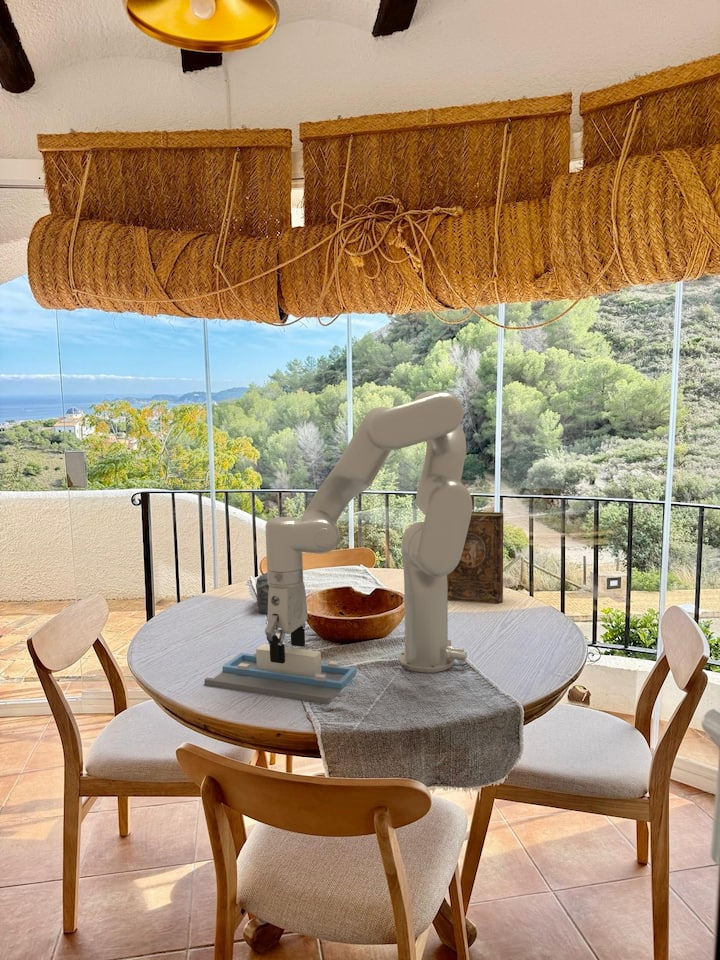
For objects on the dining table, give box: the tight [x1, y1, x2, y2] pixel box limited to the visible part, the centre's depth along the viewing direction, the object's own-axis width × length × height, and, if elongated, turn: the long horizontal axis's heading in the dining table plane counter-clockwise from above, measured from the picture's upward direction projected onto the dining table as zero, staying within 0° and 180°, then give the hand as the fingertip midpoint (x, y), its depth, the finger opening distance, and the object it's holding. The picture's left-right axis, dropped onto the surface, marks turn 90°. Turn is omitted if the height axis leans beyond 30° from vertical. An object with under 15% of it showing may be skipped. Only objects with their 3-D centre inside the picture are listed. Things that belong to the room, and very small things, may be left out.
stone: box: [255, 572, 269, 614], centre depth 197 cm, size 12×8×10 cm, turn 6°
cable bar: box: [255, 643, 322, 677], centre depth 151 cm, size 14×3×5 cm, turn 69°
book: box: [447, 511, 504, 605], centre depth 199 cm, size 16×6×25 cm, turn 73°
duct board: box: [204, 651, 357, 705], centre depth 148 cm, size 28×15×3 cm, turn 69°
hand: (288, 653), depth 150 cm, fingers open, 9 cm apart
